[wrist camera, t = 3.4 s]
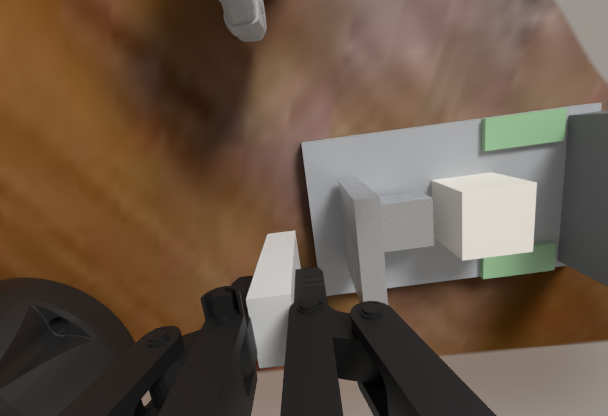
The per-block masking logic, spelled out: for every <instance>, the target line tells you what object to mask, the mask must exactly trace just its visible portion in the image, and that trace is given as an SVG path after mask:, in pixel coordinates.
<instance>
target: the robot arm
mask: <svg viewBox="0 0 608 416" xmlns="http://www.w3.org/2000/svg"><path fill="white" fill-rule="evenodd" d="M201 303H202V307H203V311H204V315H205V319H206V320H205V322H204V324H203V326H202V328H201V330H198V331H196V332H193V333H189V334H186V335H183V336H182V335H181V332H180V329H179V328H178V327H175V326H164V327H160V328H156V329H154V330H153V331H151V332H149V333H147V334H146V335H145V336H143V337H142V338H141V339H140V340H139V341H137V342H136V343H134V341H133V339H132V337H131V335H130V333H129V332H128V330H127V329H126V328H125V326H124V325H123V324H122V322H121V321H120V320H119V319H118V318H117V317H116V316H115V315H114V314H113V313H112V312H111V311H110V310H109V309H108V308H107V307H105V306H104V305H103V304H101V303H100V302H99V301H97V300H96V299H94V298H93V297H91V296H89V295H88V294H86V293H84V292H82V291H80V290H77V289H75V288H73V287H70V286H68V285H65V284H61V283H58V282H54V281H50V280H44V279H36V278H14V279H7V280H2V281H0V416H251V412H252V406H253V400H254V394H255V389H256V383H257V373H256V368H255V363H256V358H257V359H258V364H259V368H266V367H275V366H284V365H285V366H284V378H283V391H282V403H281V416H343V411H342V403H341V397H340V389H339V382H338V378H340V379H346V380H352V381H357V382H358V385H359V389H360V391H361V392H362V394H363V396H364V398H365V400H366V402H367V403H368V406H369V407H370V409H371V411H372V413H373V415H374V416H496V415H495V414H494V413H493V412H492V411H491V410H490V409H489V408H488V407H487V405H486V404H485V403H484V402H483V401H482V400H481V399H480V398H479V397H478V396H477V395H476V394H475V393H474V392H473V391H472V390H471V389H470V388H469V387H468V386H467V385H466V384H465V383H464V382H463V381H462V380H461V379H460V378H459V377H458V376H457V375H456V374H455V373H454V372H453V371H452V370H451V369H450V368H449V367H448V366H447V364H445V362H444V361H443V360H442V359H441V358H440V357H439V356H438V355H437V354H436V353H435V352H434V351H433V350H432V349H431V348H430V347H429V346H428V345H427V344H426V343H425V342H424V341H423V340H422V339H421V338H420V337H419V336H418V335H417V334H416V333H415V332H414V331H413V330H412V329H411V328H410V327H409V326H408V324H407V323H406V322H405V321H404V320H403V319H402V318H401V317H400V316H399V315H398V314H397V313H396V312H395V311H394V310H393V309H392V308H391V307H390V306H388V305H387V304H385V303H382V302H379V301H366V302H361V303H359V304H356V305H355V306H354V307H353V308H352V309H351V312H350V313H344V312H339V311H336V310H334V309H332V308H331V307H330V306H329V305H328V302H327V296H326V289H325V282H324V275H323V271H322V270H321V269H320V268H318V267H312V268H304V269H301V267H300V260H299V253H298V246H297V239H296V232H295V231H288V232H280V233H272V234H267V237H266V240H265V243H264V246H263V249H262V252H261V255H260V258H259V261H258V264H257V267H256V270H255V273H254V276H246V277H239V278H238V279H237V280H236V281H235V282H233V283H232V285H231V286H224V287H219V288H216V289H213V290H211V291H209V292H207V293H206V294H204V295H203V296H202V297H201ZM148 390H149V392H150V395H151V401H150V402H149V403H148V404H147V405H146V406H145V407H144V406H143V403H142V400H141V398H142V397H143V396H144V395H145V393H146V392H147V391H148Z"/></svg>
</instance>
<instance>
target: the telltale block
mask: <svg viewBox="0 0 608 416" xmlns="http://www.w3.org/2000/svg"><path fill="white" fill-rule="evenodd" d="M431 187H432V198H433V222H434V238H435V239H436V240H437V241H439V242H440V243H441V244H442V245H444V246H445V247H446V248H447V249H448V250H450V251H451V252H452V253H453V254H455V255H456V256H457V257H458V258H460V259H461V260H462V261H464V260H472V259H480V258H488V257H496V256H504V255H512V254H520V253H527V252H533V243H534V226H535V209H536V191H537V182H533V181H528V180H524V179H519V178H515V177H511V176H506V175H502V174H498V173H493V172H490V173H482V174H475V175H467V176H460V177H452V178H444V179H437V180H431Z"/></svg>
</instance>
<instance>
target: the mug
mask: <svg viewBox="0 0 608 416" xmlns="http://www.w3.org/2000/svg"><path fill="white" fill-rule="evenodd" d="M218 1H220V2H221V4H222V7H223V10H224V15H223V16H224V21H225V23H226V26H227V27H228V29H229V30H230V32H231V33H232V34H233V35H234V36H237V37H238V38H239V39H240V40H241V41H244V42H253V41H260V40H262V39H263V37H264V35H265V33H266V31H267V25H266V15H265V8H264V2H263V0H218Z"/></svg>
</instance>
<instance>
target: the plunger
mask: <svg viewBox="0 0 608 416" xmlns="http://www.w3.org/2000/svg"><path fill="white" fill-rule="evenodd" d="M338 187H339V197H340V206H341V216H342V225H343V235H344V244H345V254H346V263H347V267H348V270H349V273H350V276H351V279H352V282H353V285H354V288H355V290H356V293H357V296H358V299H359V302H360V303H361V302H366V301H379V302H382V303H385V304H387V305H388V298H387V284H386V270H385V256H384V252H390V251H398V250H405V249H413V248H421V247H429V246H434V222H433V198H432V197H430V196H428V195H426V194H424V193H422V192H420V191H419V192H411V193H404V194H396V195H388V196H381V197H380V196H379V195H378V194H376V193H375V192H374V191H373V190H372V189H370V188H369V187H368V186H367V185H366V184H364V183H363V182H362V181H361V180H360V179H359V178H357V177H350V178H342V179H338Z"/></svg>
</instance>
